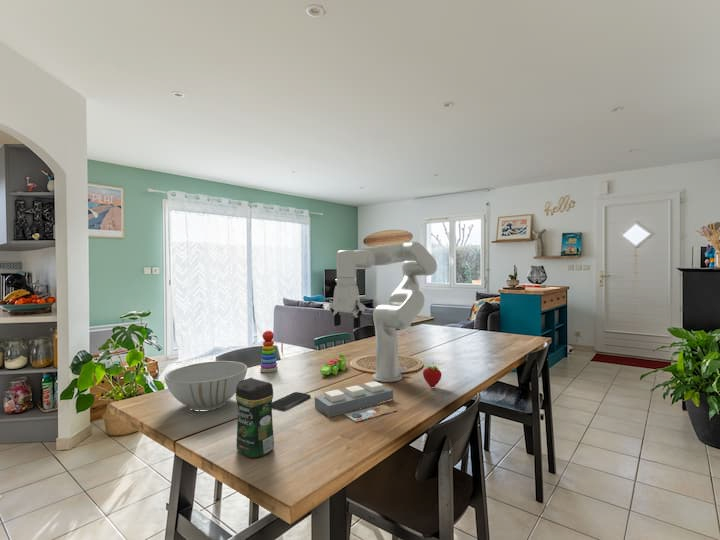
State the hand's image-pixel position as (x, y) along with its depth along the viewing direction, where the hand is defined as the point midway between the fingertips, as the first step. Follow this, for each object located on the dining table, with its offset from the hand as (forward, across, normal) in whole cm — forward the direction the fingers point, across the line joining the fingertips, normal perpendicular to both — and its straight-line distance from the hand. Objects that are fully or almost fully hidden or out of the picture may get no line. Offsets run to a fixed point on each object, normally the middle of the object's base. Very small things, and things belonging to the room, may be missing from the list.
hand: (347, 326), depth 142 cm
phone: (+26, -10, -20) cm, 34 cm away
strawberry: (+25, +25, +22) cm, 42 cm away
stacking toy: (+25, -48, +1) cm, 54 cm away
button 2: (+23, +13, -1) cm, 26 cm away
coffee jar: (+26, +10, -50) cm, 57 cm away
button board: (+25, +10, -9) cm, 28 cm away
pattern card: (+25, +20, -12) cm, 34 cm away
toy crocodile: (+25, -22, +17) cm, 37 cm away
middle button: (+23, +10, -9) cm, 27 cm away
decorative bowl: (+26, -31, -39) cm, 56 cm away
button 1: (+23, +8, -16) cm, 29 cm away
